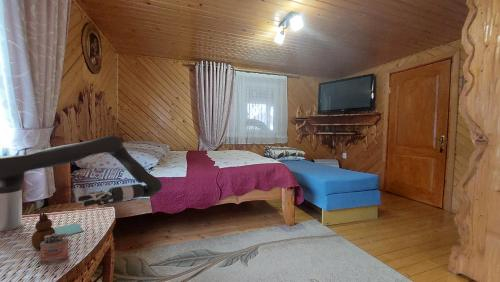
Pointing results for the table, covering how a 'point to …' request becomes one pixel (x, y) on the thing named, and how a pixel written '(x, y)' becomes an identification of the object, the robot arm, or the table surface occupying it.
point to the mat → (68, 229)
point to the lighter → (54, 249)
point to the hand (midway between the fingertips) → (80, 201)
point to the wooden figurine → (42, 231)
